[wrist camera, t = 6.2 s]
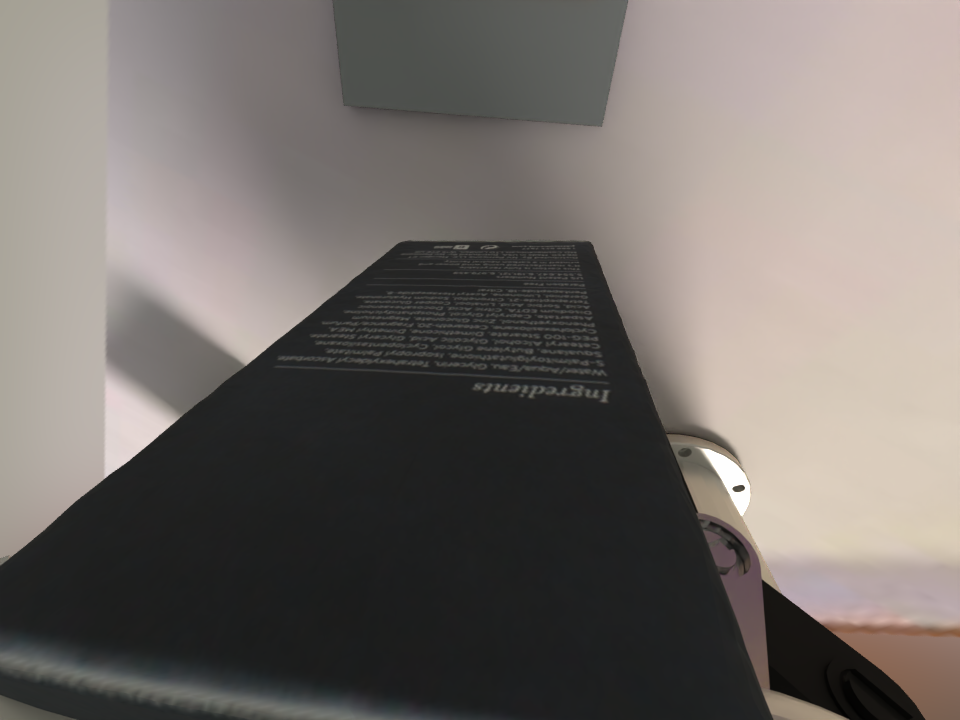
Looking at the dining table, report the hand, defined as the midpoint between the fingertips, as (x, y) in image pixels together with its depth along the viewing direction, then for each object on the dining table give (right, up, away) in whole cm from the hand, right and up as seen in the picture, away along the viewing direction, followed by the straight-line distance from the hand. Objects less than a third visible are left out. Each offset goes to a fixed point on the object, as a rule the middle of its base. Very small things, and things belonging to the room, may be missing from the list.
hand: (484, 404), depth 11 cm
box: (0, +1, +2) cm, 3 cm away
